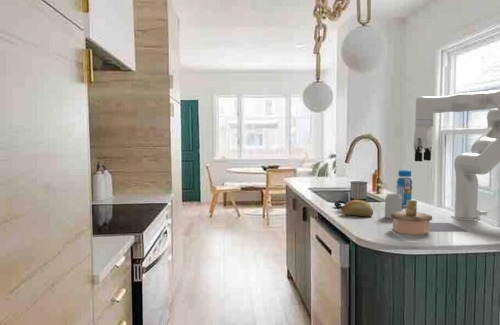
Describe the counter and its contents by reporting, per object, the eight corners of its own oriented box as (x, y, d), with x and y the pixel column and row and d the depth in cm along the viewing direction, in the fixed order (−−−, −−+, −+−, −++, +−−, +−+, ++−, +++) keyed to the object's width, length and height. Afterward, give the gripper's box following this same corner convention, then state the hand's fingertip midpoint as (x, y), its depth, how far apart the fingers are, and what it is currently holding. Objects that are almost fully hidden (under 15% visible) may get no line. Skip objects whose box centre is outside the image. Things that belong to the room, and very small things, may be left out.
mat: (449, 223, 190) (449, 222, 190) (468, 232, 173) (468, 231, 173) (413, 223, 190) (413, 222, 190) (430, 232, 173) (430, 231, 173)
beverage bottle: (394, 205, 238) (395, 170, 236) (398, 203, 244) (399, 169, 243) (409, 207, 233) (410, 171, 231) (413, 205, 240) (414, 170, 238)
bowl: (419, 228, 181) (420, 214, 181) (433, 235, 168) (433, 220, 168) (389, 228, 181) (390, 214, 181) (400, 235, 168) (401, 220, 168)
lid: (422, 213, 182) (422, 197, 182) (439, 221, 166) (439, 204, 166) (385, 213, 182) (386, 197, 182) (398, 221, 166) (399, 203, 166)
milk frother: (370, 210, 224) (371, 182, 223) (343, 211, 220) (344, 183, 219) (356, 205, 238) (357, 179, 237) (331, 206, 234) (332, 180, 233)
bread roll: (342, 213, 216) (342, 197, 215) (372, 214, 212) (373, 199, 211) (341, 216, 207) (342, 200, 206) (373, 218, 203) (373, 202, 202)
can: (402, 220, 197) (403, 195, 196) (385, 219, 199) (386, 194, 198) (400, 217, 204) (400, 193, 204) (384, 216, 206) (384, 192, 205)
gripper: (423, 124, 201) (422, 159, 202) (407, 123, 189) (406, 161, 190) (439, 123, 196) (438, 160, 197) (424, 123, 184) (423, 162, 185)
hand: (422, 160), depth 194 cm, fingers open, 9 cm apart
